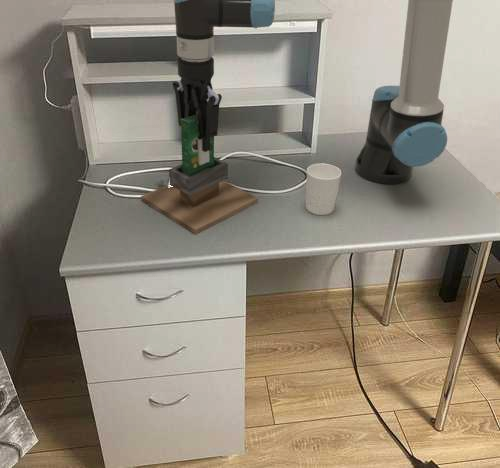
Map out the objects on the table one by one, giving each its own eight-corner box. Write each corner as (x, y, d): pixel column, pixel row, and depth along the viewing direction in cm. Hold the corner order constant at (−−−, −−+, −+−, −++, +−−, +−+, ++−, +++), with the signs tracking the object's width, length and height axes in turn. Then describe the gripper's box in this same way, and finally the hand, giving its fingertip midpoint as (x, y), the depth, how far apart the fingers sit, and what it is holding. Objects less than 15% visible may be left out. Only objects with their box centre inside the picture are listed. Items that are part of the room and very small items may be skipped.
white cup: (335, 218, 123) (340, 181, 117) (301, 214, 124) (305, 177, 118) (336, 201, 129) (342, 165, 124) (305, 198, 130) (308, 161, 125)
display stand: (258, 202, 128) (259, 167, 123) (195, 234, 116) (194, 197, 111) (203, 174, 139) (202, 140, 134) (141, 200, 127) (137, 165, 122)
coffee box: (207, 161, 126) (206, 109, 118) (215, 165, 124) (215, 112, 117) (181, 172, 121) (179, 118, 113) (190, 176, 119) (188, 122, 112)
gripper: (156, 51, 110) (164, 153, 124) (208, 69, 101) (209, 177, 115) (184, 45, 115) (188, 144, 128) (235, 62, 106) (234, 166, 119)
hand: (198, 159), depth 121 cm, fingers closed on coffee box, 3 cm apart
